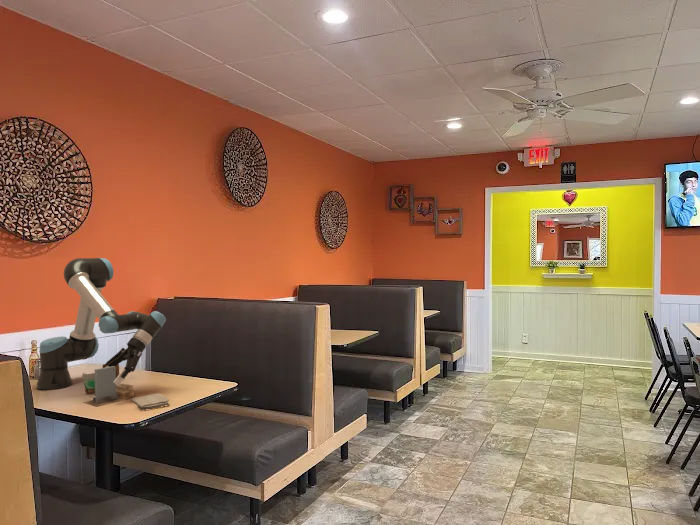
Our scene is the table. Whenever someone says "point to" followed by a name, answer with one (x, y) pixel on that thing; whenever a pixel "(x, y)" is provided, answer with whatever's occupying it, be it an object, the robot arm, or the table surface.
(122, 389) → the offcut stack
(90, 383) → the food container
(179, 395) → the table surface
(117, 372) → the mug
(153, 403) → the washcloth
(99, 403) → the brown rectangular board
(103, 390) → the tall panel
